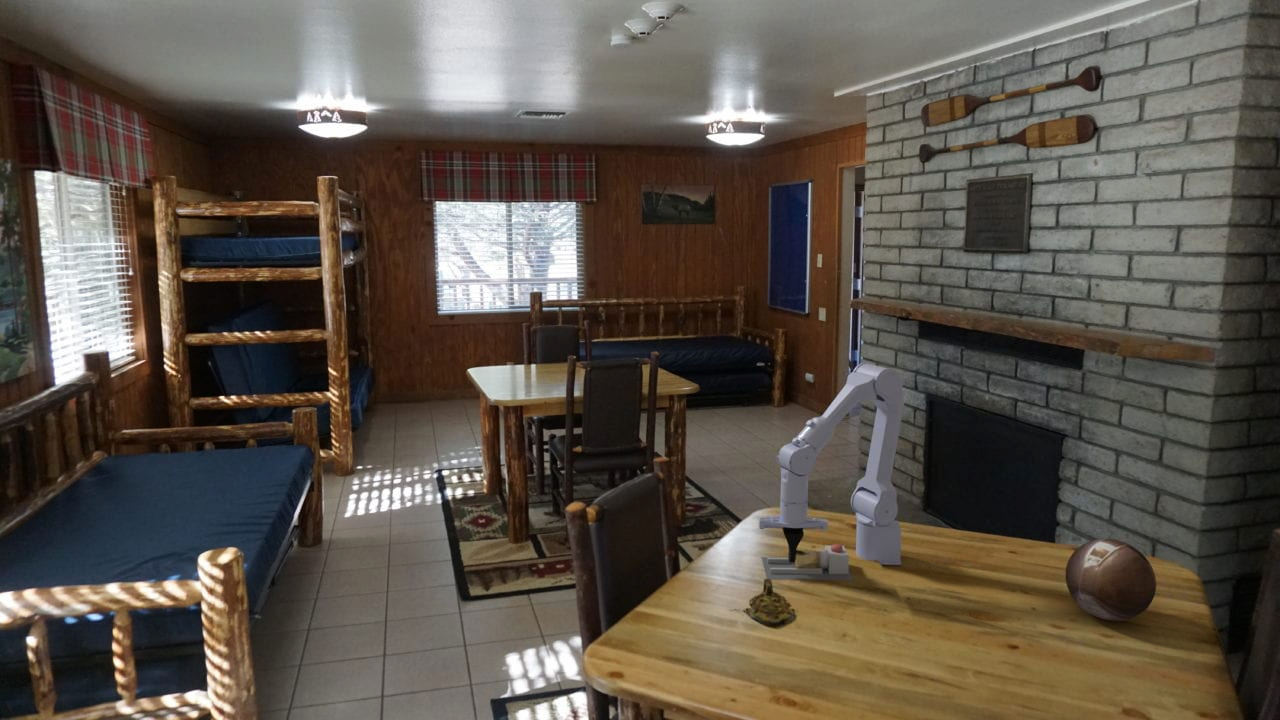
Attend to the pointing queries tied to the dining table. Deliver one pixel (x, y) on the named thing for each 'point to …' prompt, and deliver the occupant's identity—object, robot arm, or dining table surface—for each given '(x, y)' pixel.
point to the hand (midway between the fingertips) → (791, 560)
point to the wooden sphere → (1110, 579)
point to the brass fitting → (806, 559)
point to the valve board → (830, 568)
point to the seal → (769, 607)
